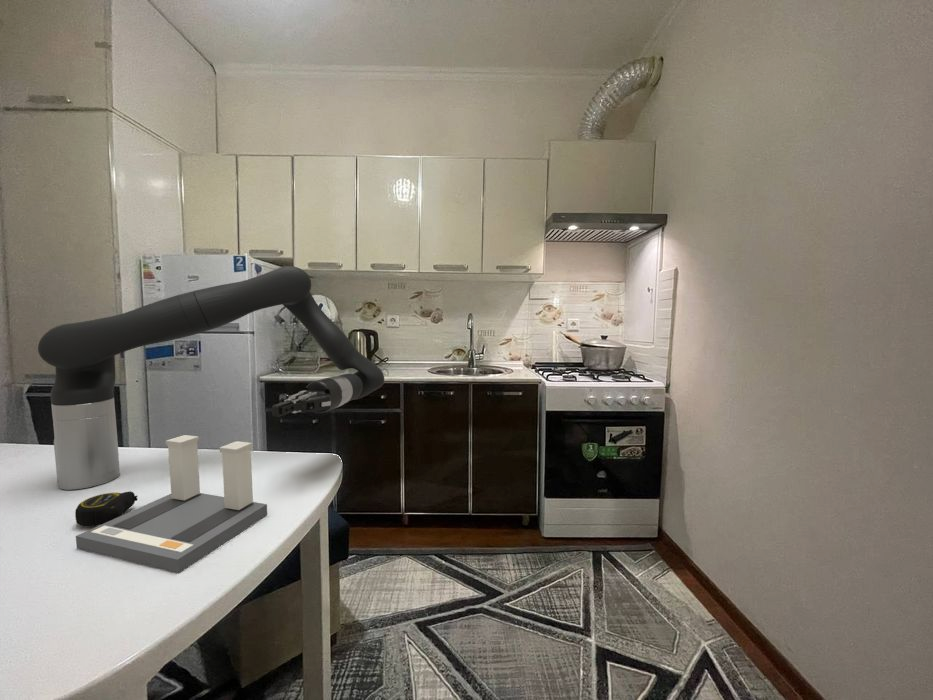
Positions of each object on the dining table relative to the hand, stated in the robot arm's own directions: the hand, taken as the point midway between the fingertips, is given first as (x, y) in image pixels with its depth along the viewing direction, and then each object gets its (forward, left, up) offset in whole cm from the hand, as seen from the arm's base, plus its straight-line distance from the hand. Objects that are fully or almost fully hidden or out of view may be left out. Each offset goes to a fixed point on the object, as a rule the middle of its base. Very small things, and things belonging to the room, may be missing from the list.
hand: (275, 411), depth 74 cm
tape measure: (-21, -15, -17) cm, 31 cm away
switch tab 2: (0, -9, -14) cm, 17 cm away
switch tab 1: (-12, -9, -14) cm, 21 cm away
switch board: (-6, -15, -17) cm, 23 cm away
